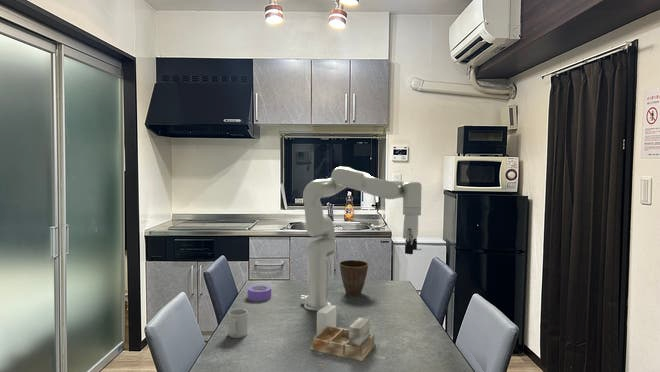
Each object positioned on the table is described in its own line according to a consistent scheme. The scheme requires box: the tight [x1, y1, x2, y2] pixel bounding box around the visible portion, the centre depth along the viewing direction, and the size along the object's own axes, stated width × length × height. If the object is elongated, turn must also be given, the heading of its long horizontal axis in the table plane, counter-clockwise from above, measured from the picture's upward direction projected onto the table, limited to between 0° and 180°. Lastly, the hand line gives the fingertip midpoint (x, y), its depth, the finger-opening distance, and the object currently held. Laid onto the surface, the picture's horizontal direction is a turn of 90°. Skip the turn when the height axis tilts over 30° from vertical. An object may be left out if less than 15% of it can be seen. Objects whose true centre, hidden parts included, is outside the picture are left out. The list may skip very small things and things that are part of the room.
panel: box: [316, 304, 337, 335], centre depth 164 cm, size 4×10×9 cm, turn 155°
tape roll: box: [247, 284, 272, 302], centre depth 205 cm, size 12×12×5 cm
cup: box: [228, 308, 249, 339], centre depth 158 cm, size 7×10×9 cm
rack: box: [310, 317, 377, 362], centre depth 149 cm, size 20×14×10 cm
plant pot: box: [339, 259, 369, 297], centre depth 212 cm, size 15×15×16 cm
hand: (411, 251), depth 172 cm, fingers open, 9 cm apart
